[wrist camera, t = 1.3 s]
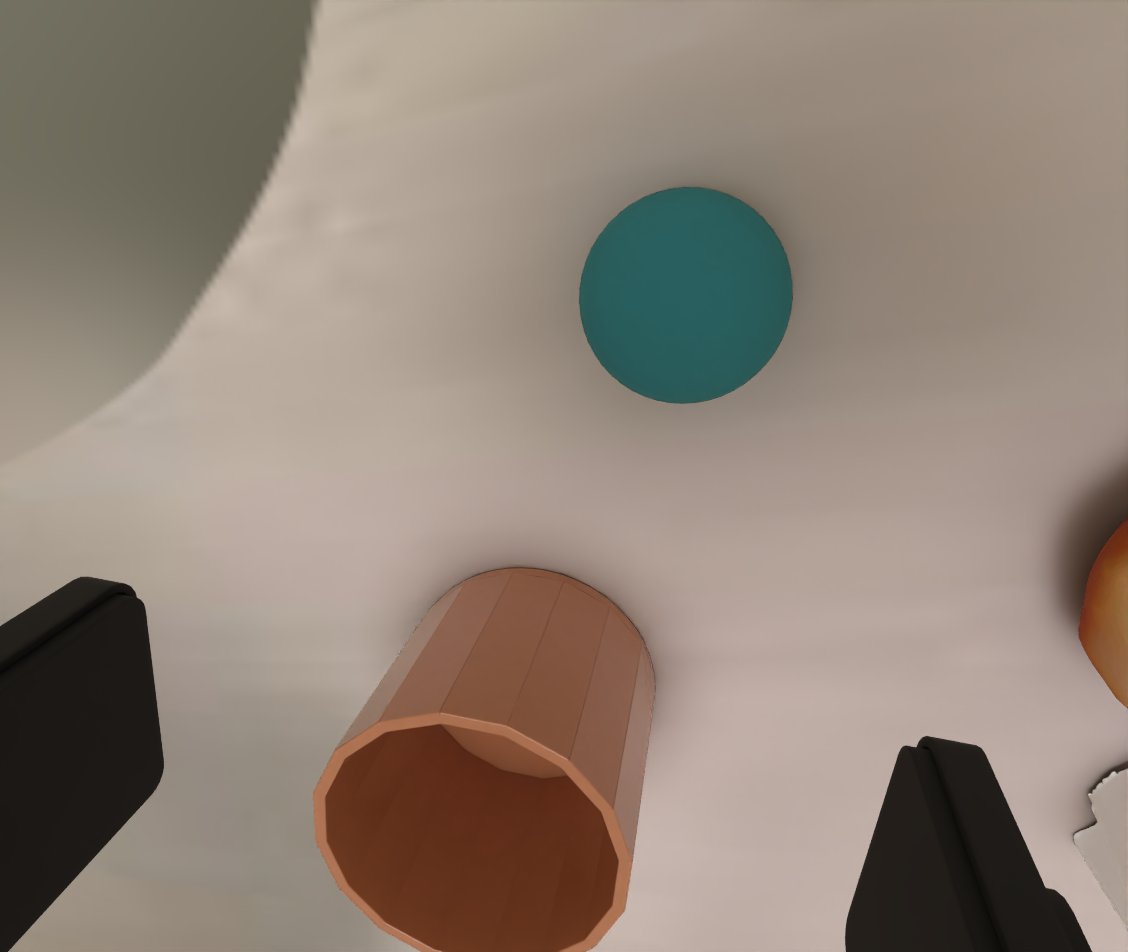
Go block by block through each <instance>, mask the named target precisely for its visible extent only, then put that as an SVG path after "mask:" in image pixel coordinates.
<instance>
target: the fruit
mask: <svg viewBox="0 0 1128 952" xmlns="http://www.w3.org/2000/svg"><path fill="white" fill-rule="evenodd" d="M1079 639H1080V641H1081V644H1082V646H1083V648H1084V650H1085V652H1086V654H1087V656H1088V657H1089V659H1090V661H1091V662H1092V664H1093V665H1094V667H1095V668H1096V670H1097V671H1098V673H1099V674H1100V675H1101V677H1102V678H1103V680H1104V681H1105V682H1106V684H1107V685H1108V687H1109V688H1110V690H1111V691H1112V693H1113V694H1114V696H1115V697H1116V698H1117V699H1118V700H1119V701H1120V702H1121V703H1122V704H1123V705H1124V706H1125V707H1127V708H1128V518H1126V519H1125V520H1124V521H1123V522H1122V523H1121V524H1120V525H1119V527H1118V528H1117V529H1116V531H1115V532H1114V533H1113V535H1112V536H1111V537H1110V538H1109V540H1108V541H1107V542H1106V544H1105V545H1104V547H1103V548H1102V550H1101V551H1100V553H1099V555H1098V557H1097V559H1096V561H1095V563H1094V565H1093V567H1092V569H1091V571H1090V574H1089V577H1088V581H1087V585H1086V592H1085V598H1084V604H1083V609H1082V614H1081V618H1080V624H1079Z"/></svg>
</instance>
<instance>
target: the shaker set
mask: <svg viewBox="0 0 1128 952" xmlns="http://www.w3.org/2000/svg"><path fill="white" fill-rule="evenodd" d="M1102 781H1103V783H1102V784H1101V782H1100V783H1099V784H1098V785H1097V787H1096V790H1095V789H1094V790H1093V792H1092V794H1091V793H1089V794H1088V796H1089V798H1090V800H1091V802H1092V804H1093V805H1092V804H1091V805H1092V811H1093V813H1094V816H1095V817H1096V820H1097V823H1096V824H1095V825H1094V826H1091V827H1089V828H1088V829H1084V830H1080V832H1078V833H1075V835H1074V844H1075V845H1076V846H1077V847H1078V849H1079V851H1080V853H1081V854H1082V856H1083V858H1084V861H1085V862H1086V864H1087V865H1088V866H1089V868H1090V870H1091V872H1092V873H1093V875H1094V876H1095V878H1096V879H1097V881H1098V883H1099V884H1100V886H1101V888H1102V890H1103V891H1104V893H1105V895H1106V896H1107V898H1108V900H1109V901H1110V903H1111V904H1112V906H1113V908H1114V910H1115V911H1116V913H1117V914H1118V916H1119V917H1120V919H1121V921H1122V922H1123V924H1124V926H1125V927H1126V929H1127V931H1128V769H1126V770H1123V771H1120V772H1118V773H1115V772H1112V773H1111V775H1110V776H1109V778H1105V779H1103V780H1102Z"/></svg>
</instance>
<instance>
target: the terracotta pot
mask: <svg viewBox="0 0 1128 952" xmlns="http://www.w3.org/2000/svg"><path fill="white" fill-rule="evenodd" d="M655 691H656V688H655V681H654V671H653V667H652V663H651V659H650V656H649V653H648V651H647V648H646V646H645V644H644V642H643V640H642V638H641V636H640V635H639V633H638V631H637V630H636V628H635V627H634V626H633V624H632V623H631V622H630V620H629V619H628V618H627V617H626V616H625V615H624V614H623V612H622V611H621V610H620V609H619V608H618V607H617V606H616V605H614V604H613V603H612V602H611V601H610V600H608V599H607V598H606V597H605V596H603V595H602V594H600V593H599V592H597V591H596V590H594V589H592V588H591V587H589V586H587V585H585V584H583V583H581V582H579V581H577V580H575V579H572V578H569V577H567V576H564V575H561V574H558V573H554V572H549V571H545V570H539V569H529V568H508V569H501V570H494V571H490V572H486V573H483V574H479V575H476V576H474V577H472V578H469V579H467V580H465V581H463V582H461V583H460V584H458V585H457V586H455V587H453V588H452V589H451V590H449V591H448V592H447V593H446V594H445V595H443V596H442V597H441V598H440V600H439V601H438V602H437V603H436V604H435V605H433V606H432V607H431V608H430V609H429V611H428V612H427V614H426V615H425V617H424V618H423V620H422V621H421V623H420V624H419V626H418V627H417V629H416V630H415V631H414V633H413V634H412V636H411V637H410V639H409V640H408V642H407V643H406V645H405V646H404V648H403V649H402V651H401V652H400V654H399V655H398V657H397V658H396V660H395V661H394V663H393V664H392V666H391V667H390V669H389V670H388V672H387V673H386V675H385V676H384V678H383V679H382V681H381V682H380V684H379V685H378V687H377V688H376V690H375V691H374V692H373V694H372V695H371V697H370V698H369V700H368V701H367V703H366V704H365V706H364V707H363V709H362V710H361V712H360V713H359V715H358V716H357V718H356V719H355V721H354V722H353V724H352V725H351V727H350V728H349V730H348V731H347V733H346V734H345V736H344V737H343V739H342V740H341V742H340V743H339V745H338V746H337V748H336V749H335V750H334V752H333V754H332V756H331V758H330V760H329V762H328V764H327V766H326V768H325V770H324V772H323V774H322V776H321V778H320V780H319V782H318V784H317V786H316V788H315V790H314V793H313V801H314V823H315V841H316V844H317V846H318V848H319V850H320V852H321V854H322V856H323V858H324V860H325V862H326V864H327V866H328V868H329V870H330V872H331V874H332V876H333V878H334V880H335V882H336V884H337V886H338V887H339V888H340V890H341V891H342V892H343V893H344V894H345V895H346V896H347V897H348V898H349V899H350V900H351V901H352V902H353V903H354V904H355V905H356V906H357V907H358V908H359V909H360V910H361V911H362V912H363V913H364V914H365V915H366V916H367V917H368V918H369V919H370V920H371V921H372V922H373V923H374V924H375V925H376V926H377V927H378V928H380V929H381V930H383V931H385V932H386V933H388V934H390V935H392V936H394V937H396V938H397V939H399V940H401V941H403V942H405V943H407V944H408V945H410V946H412V947H414V948H416V949H417V950H419V951H421V952H586V951H588V950H590V949H592V948H593V947H595V946H596V945H597V944H598V942H599V941H600V940H601V939H602V937H603V936H604V935H605V934H606V933H607V931H608V930H609V929H610V928H611V927H612V925H613V924H614V923H615V922H616V921H617V919H618V918H619V917H620V916H621V915H622V913H623V912H624V910H625V908H626V901H627V895H628V888H629V882H630V875H631V869H632V862H633V855H634V847H635V840H636V832H637V825H638V817H639V810H640V803H641V795H642V788H643V780H644V773H645V765H646V758H647V750H648V743H649V735H650V728H651V720H652V713H653V706H654V698H655Z"/></svg>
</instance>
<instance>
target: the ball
mask: <svg viewBox="0 0 1128 952" xmlns="http://www.w3.org/2000/svg"><path fill="white" fill-rule="evenodd" d="M792 299H793V294H792V277H791V270H790V266H789V262H788V259H787V256H786V253H785V251H784V248H783V246H782V244H781V242H780V240H779V238H778V237H777V235H776V234H775V232H774V230H773V229H772V228H771V227H770V225H769V224H768V223H767V222H766V221H765V219H764V218H763V217H762V216H760V215H759V214H758V213H757V212H756V211H755V210H754V209H753V208H751V207H750V206H748V205H747V204H745V203H744V202H742V201H741V200H739V199H736V198H734V197H732V196H730V195H728V194H725V193H722V192H719V191H716V190H711V189H705V188H698V187H682V188H673V189H668V190H664V191H660V192H656V193H653V194H651V195H649V196H646V197H644V198H642V199H640V200H638V201H636V202H635V203H633V204H631V205H629V206H628V207H627V208H626V209H624V210H623V211H622V212H620V213H619V214H618V215H617V216H616V217H615V218H614V219H613V220H612V221H611V222H610V223H609V224H608V225H607V226H606V228H605V229H604V230H603V231H602V233H601V234H600V235H599V236H598V238H597V240H596V241H595V243H594V245H593V247H592V248H591V250H590V253H589V255H588V257H587V260H586V262H585V266H584V269H583V273H582V277H581V283H580V295H579V304H580V314H581V320H582V324H583V328H584V332H585V335H586V337H587V340H588V343H589V345H590V347H591V348H592V350H593V352H594V354H595V356H596V357H597V359H598V360H599V361H600V363H601V364H602V366H603V367H604V368H605V369H606V370H607V371H608V372H609V373H610V374H611V375H612V376H613V377H614V378H615V379H616V380H618V381H619V382H620V383H621V384H623V385H624V386H626V387H627V388H629V389H630V390H632V391H634V392H636V393H638V394H640V395H642V396H645V397H648V398H651V399H654V400H657V401H663V402H668V403H680V404H684V403H697V402H703V401H708V400H711V399H714V398H718V397H721V396H723V395H725V394H727V393H730V392H732V391H734V390H735V389H737V388H739V387H740V386H742V385H743V384H745V383H746V382H747V381H749V380H750V379H751V378H752V377H754V376H755V375H756V374H757V373H758V372H759V371H760V370H761V369H762V368H763V367H764V366H765V365H766V364H767V362H768V361H769V360H770V358H771V357H772V356H773V354H774V353H775V351H776V350H777V348H778V346H779V344H780V342H781V341H782V338H783V336H784V333H785V331H786V329H787V326H788V322H789V318H790V314H791V307H792Z"/></svg>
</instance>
